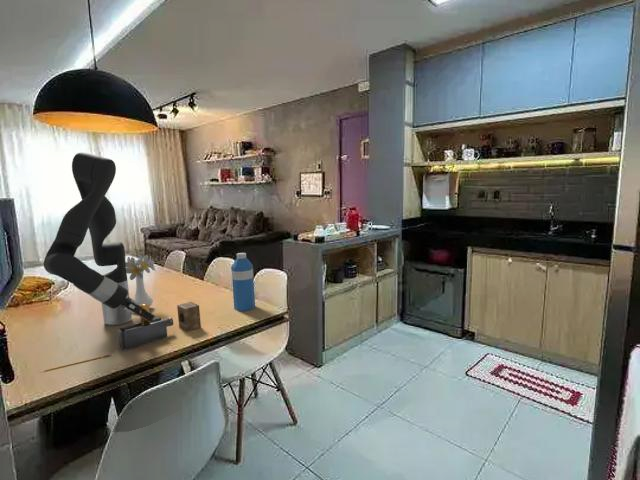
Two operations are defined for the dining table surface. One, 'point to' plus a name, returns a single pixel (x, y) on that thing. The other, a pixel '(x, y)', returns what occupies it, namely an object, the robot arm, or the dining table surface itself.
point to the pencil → (78, 362)
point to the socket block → (189, 316)
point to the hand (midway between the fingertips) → (148, 315)
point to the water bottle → (243, 283)
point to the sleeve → (141, 334)
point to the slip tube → (145, 322)
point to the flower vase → (140, 277)
